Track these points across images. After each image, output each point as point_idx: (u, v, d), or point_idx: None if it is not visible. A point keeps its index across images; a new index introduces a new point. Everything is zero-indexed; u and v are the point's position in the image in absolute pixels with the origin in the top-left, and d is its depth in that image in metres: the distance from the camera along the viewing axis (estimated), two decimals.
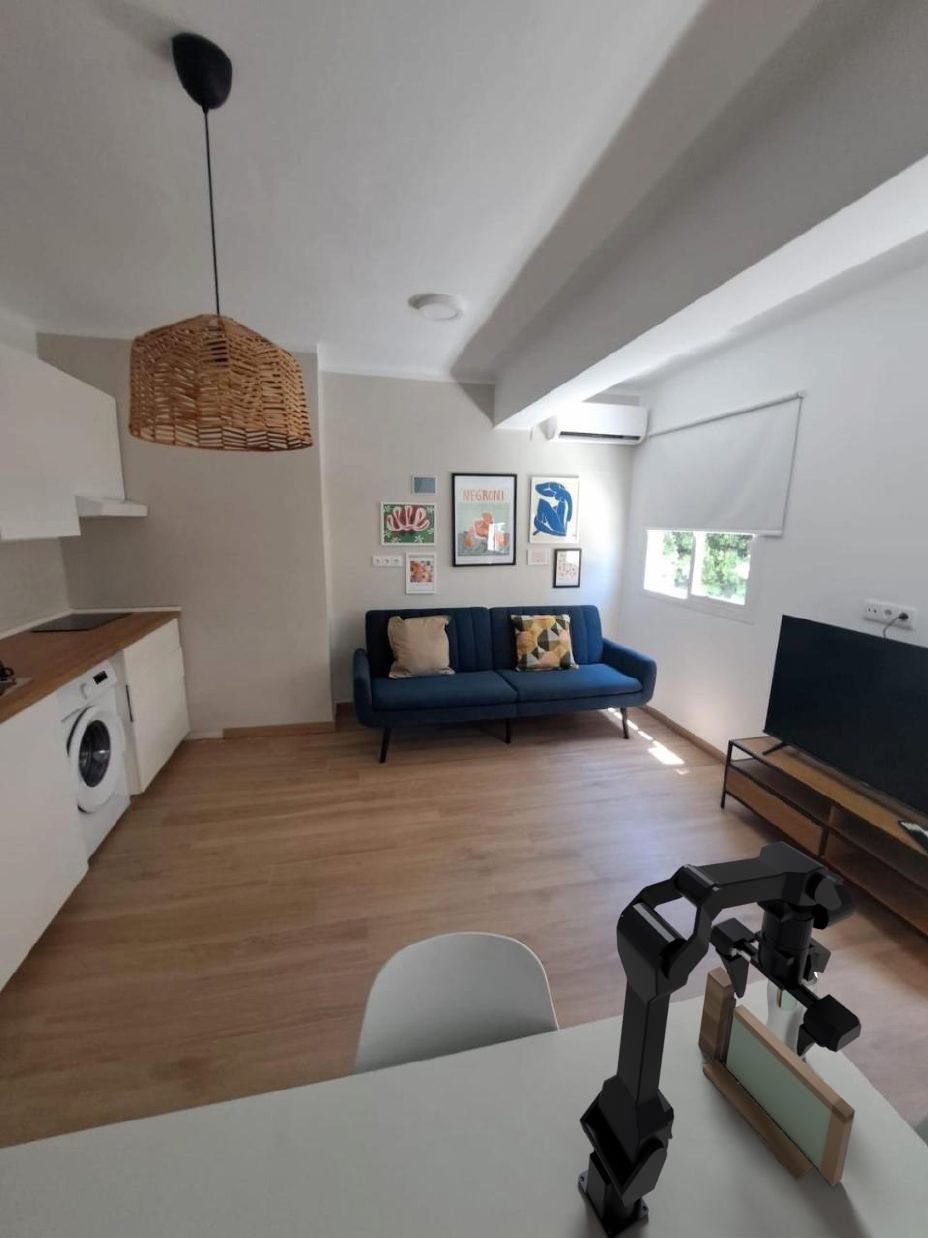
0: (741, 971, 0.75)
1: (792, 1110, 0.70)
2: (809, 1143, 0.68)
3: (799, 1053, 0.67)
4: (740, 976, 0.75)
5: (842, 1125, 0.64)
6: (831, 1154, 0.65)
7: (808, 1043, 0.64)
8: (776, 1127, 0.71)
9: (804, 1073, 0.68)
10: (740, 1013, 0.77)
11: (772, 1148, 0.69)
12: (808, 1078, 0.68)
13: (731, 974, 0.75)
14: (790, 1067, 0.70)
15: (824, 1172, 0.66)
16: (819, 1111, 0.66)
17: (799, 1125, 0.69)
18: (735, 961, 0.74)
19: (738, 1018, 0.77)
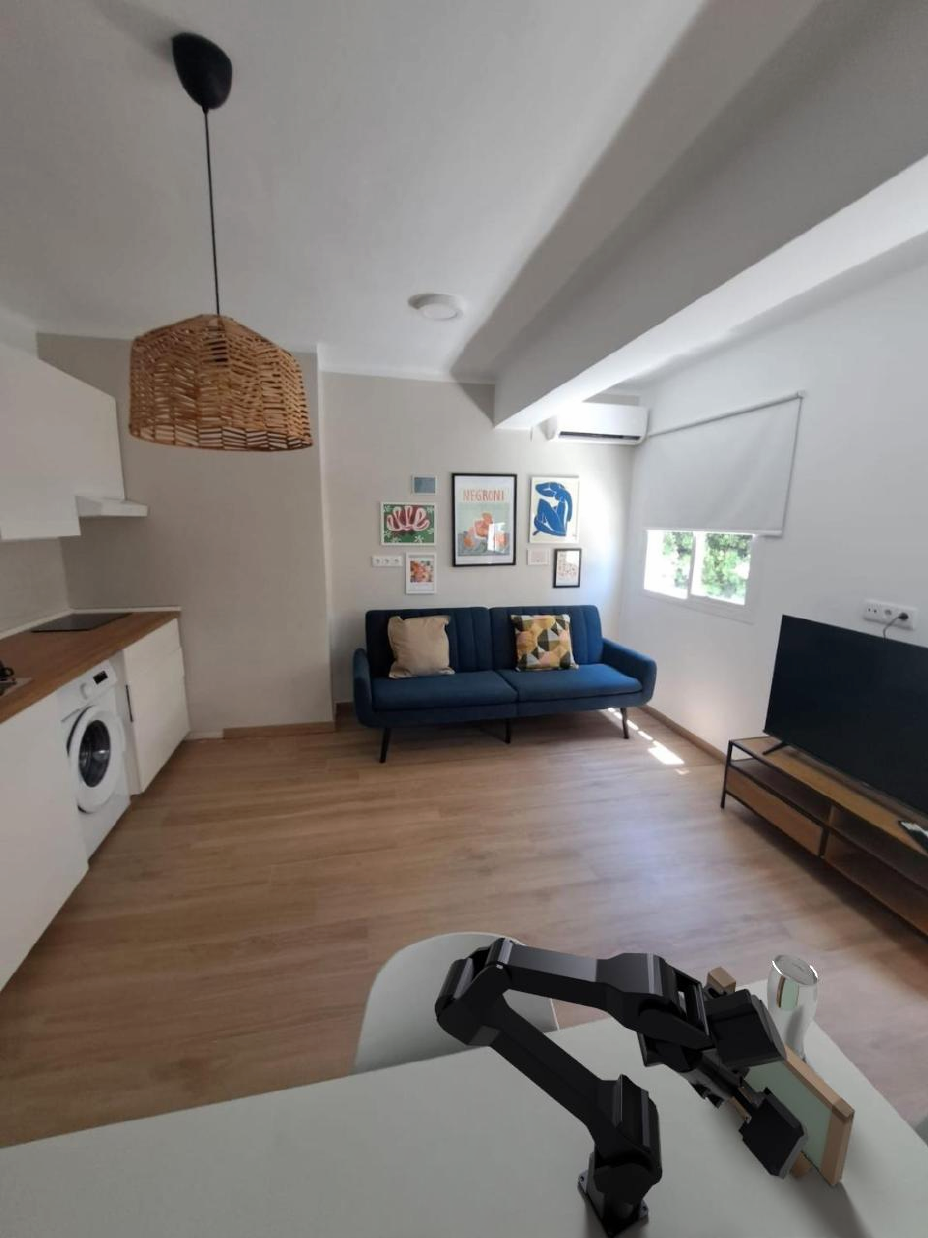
0: None
1: (792, 1110, 0.70)
2: (809, 1143, 0.68)
3: None
4: None
5: (842, 1125, 0.64)
6: (831, 1154, 0.65)
7: None
8: None
9: (804, 1073, 0.68)
10: None
11: None
12: (808, 1078, 0.68)
13: None
14: (790, 1067, 0.70)
15: (824, 1172, 0.66)
16: (819, 1111, 0.66)
17: None
18: None
19: None
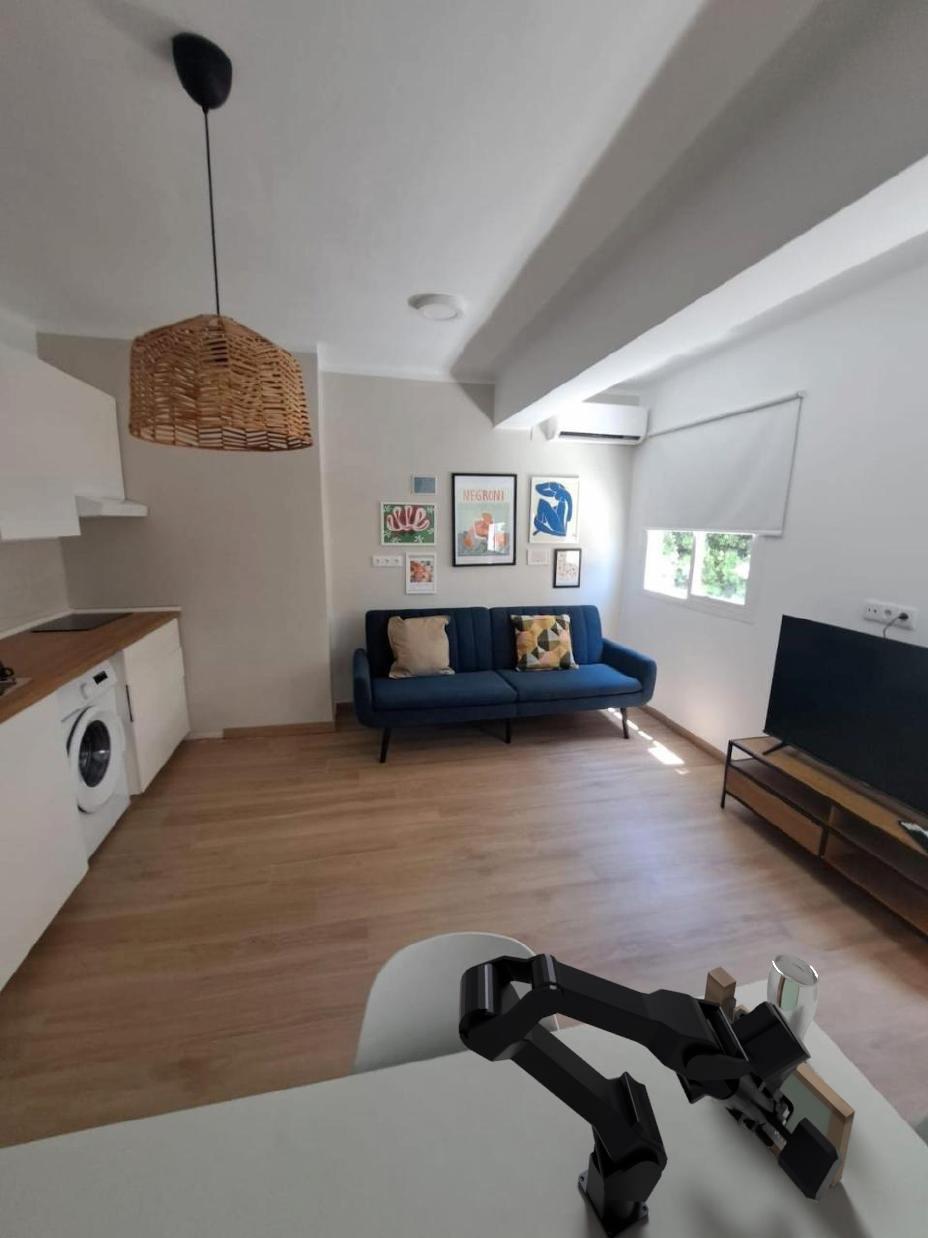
0: None
1: None
2: None
3: None
4: None
5: (842, 1125, 0.64)
6: None
7: None
8: None
9: (804, 1073, 0.68)
10: None
11: (772, 1148, 0.69)
12: (808, 1078, 0.68)
13: None
14: None
15: None
16: (819, 1111, 0.66)
17: None
18: None
19: None
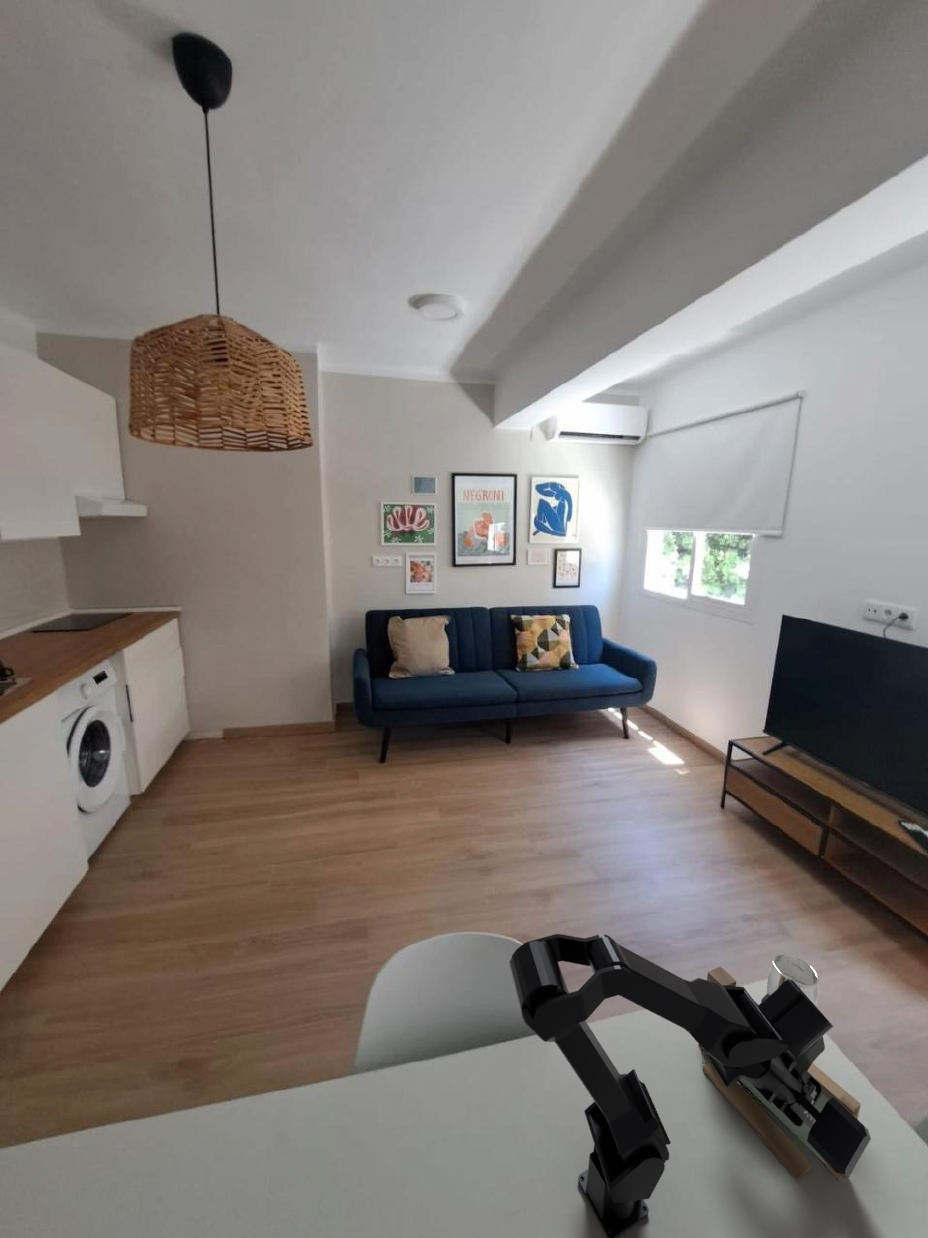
0: None
1: None
2: None
3: None
4: None
5: None
6: None
7: None
8: (776, 1127, 0.71)
9: (809, 1070, 0.69)
10: None
11: (772, 1148, 0.69)
12: (813, 1075, 0.68)
13: None
14: None
15: None
16: None
17: None
18: None
19: None
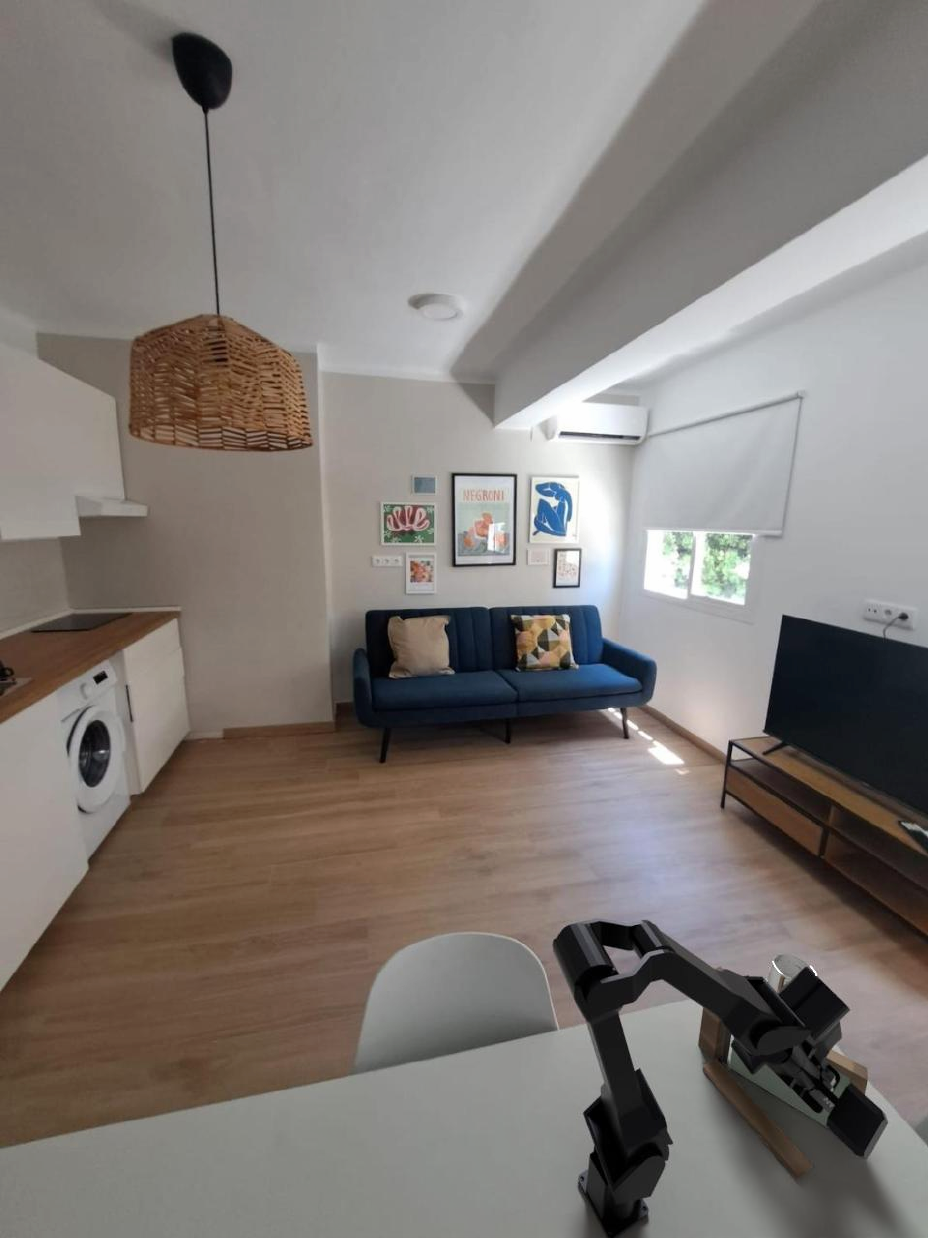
0: None
1: None
2: (827, 1113, 0.71)
3: None
4: None
5: (863, 1088, 0.68)
6: None
7: None
8: (776, 1127, 0.71)
9: None
10: None
11: (772, 1148, 0.69)
12: None
13: None
14: None
15: None
16: None
17: None
18: None
19: None
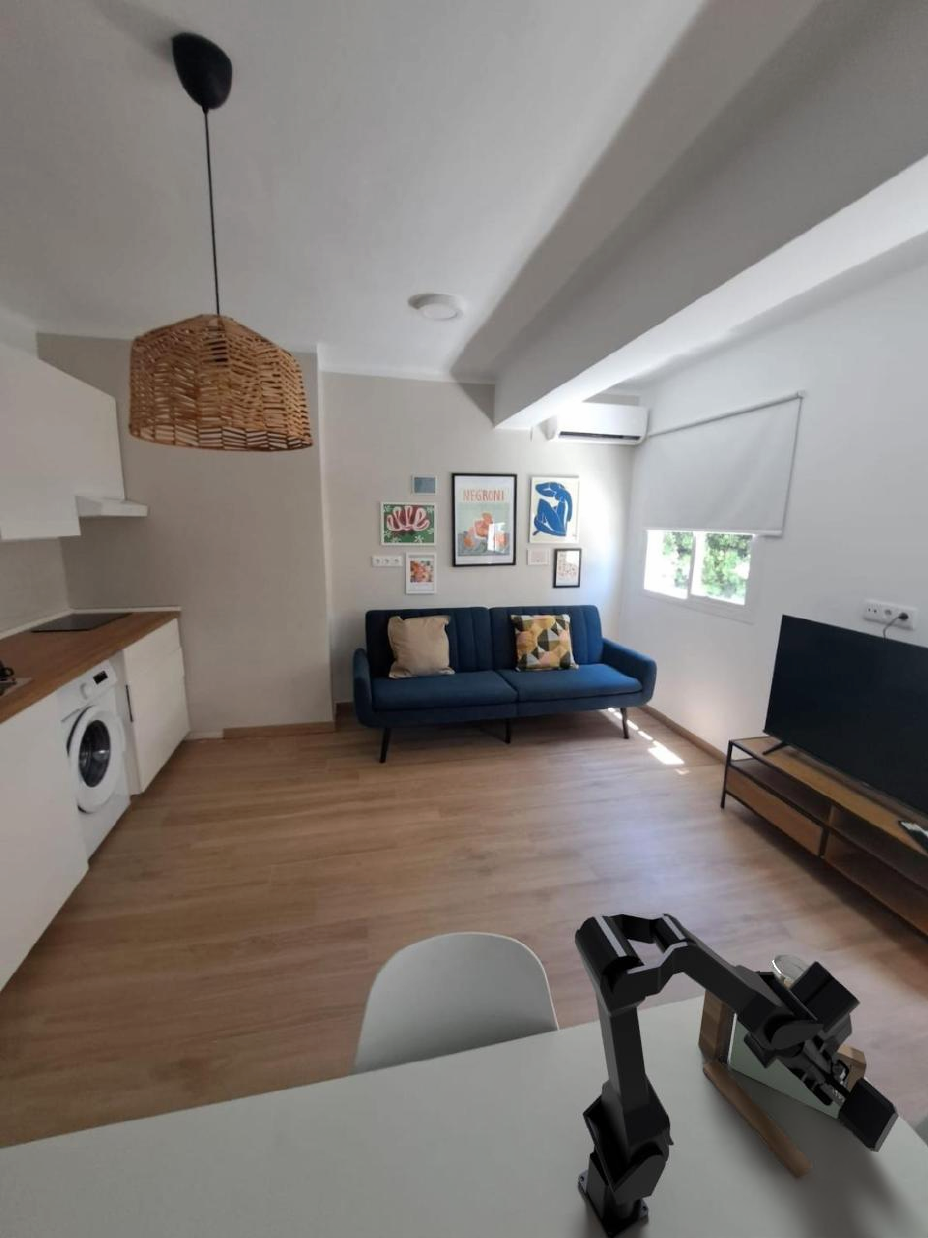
0: None
1: None
2: None
3: None
4: None
5: (862, 1073, 0.70)
6: None
7: None
8: (776, 1127, 0.71)
9: None
10: None
11: (772, 1148, 0.69)
12: None
13: None
14: None
15: None
16: None
17: None
18: None
19: None
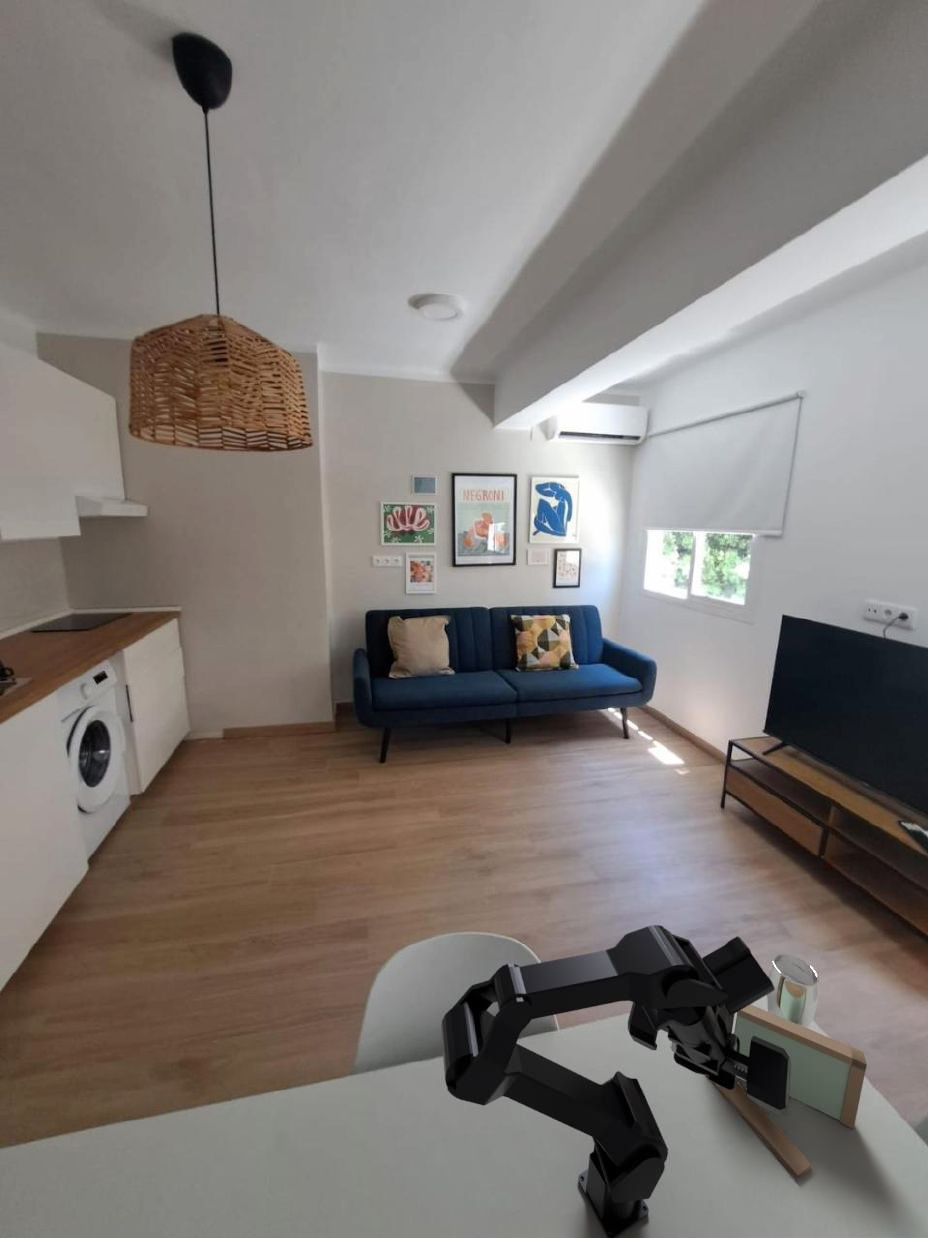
0: None
1: (808, 1079, 0.74)
2: (827, 1101, 0.73)
3: None
4: None
5: (862, 1073, 0.70)
6: (852, 1101, 0.71)
7: None
8: (776, 1127, 0.71)
9: (819, 1042, 0.73)
10: (746, 1011, 0.77)
11: (772, 1148, 0.69)
12: (824, 1044, 0.72)
13: (701, 1073, 0.64)
14: (806, 1042, 0.73)
15: (845, 1119, 0.72)
16: (837, 1069, 0.72)
17: (816, 1089, 0.74)
18: None
19: (745, 1017, 0.77)
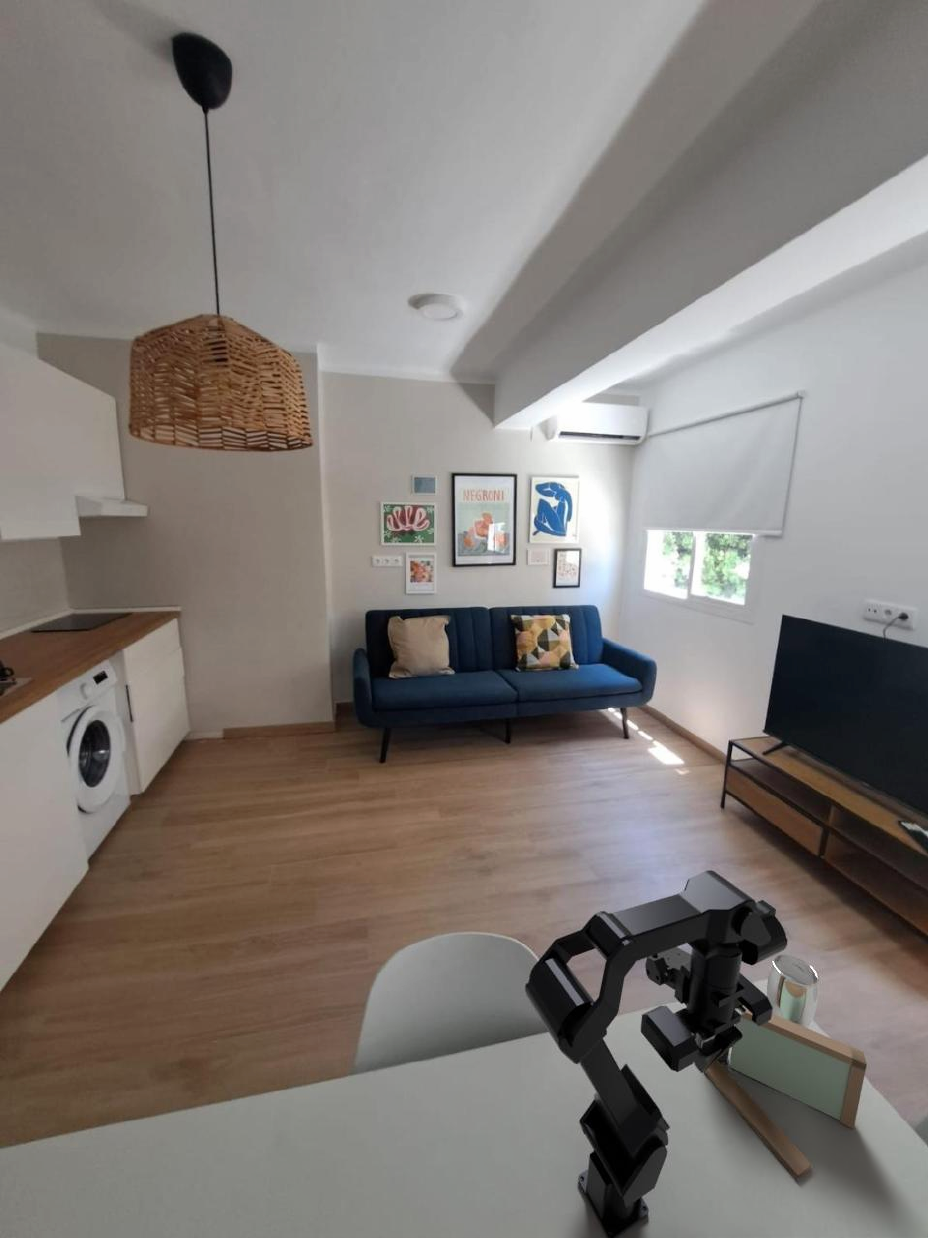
0: None
1: (808, 1079, 0.74)
2: (827, 1101, 0.73)
3: None
4: None
5: (862, 1073, 0.70)
6: (852, 1101, 0.71)
7: (729, 1048, 0.65)
8: (776, 1127, 0.71)
9: (819, 1042, 0.73)
10: (746, 1011, 0.77)
11: (772, 1148, 0.69)
12: (824, 1044, 0.72)
13: (714, 1058, 0.64)
14: (806, 1042, 0.73)
15: (845, 1119, 0.72)
16: (837, 1069, 0.72)
17: (816, 1089, 0.74)
18: (713, 1041, 0.64)
19: (745, 1017, 0.77)
